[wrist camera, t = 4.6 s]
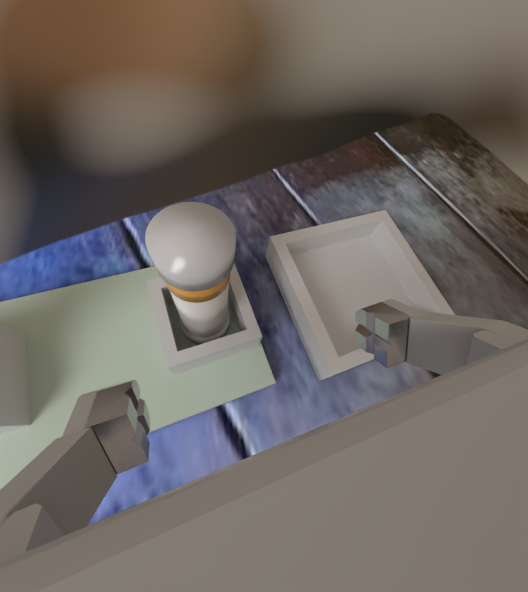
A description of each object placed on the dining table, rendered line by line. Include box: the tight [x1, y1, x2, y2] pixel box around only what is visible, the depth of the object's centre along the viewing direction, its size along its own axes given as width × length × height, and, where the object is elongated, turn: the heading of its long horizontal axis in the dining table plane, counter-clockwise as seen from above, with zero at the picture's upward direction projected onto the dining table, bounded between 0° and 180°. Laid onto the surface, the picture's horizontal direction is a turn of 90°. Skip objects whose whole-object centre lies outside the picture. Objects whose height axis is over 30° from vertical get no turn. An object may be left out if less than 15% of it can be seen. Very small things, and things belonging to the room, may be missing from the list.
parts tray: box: [265, 210, 455, 381], centre depth 24 cm, size 12×12×3 cm
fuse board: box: [0, 263, 276, 490], centre depth 18 cm, size 12×22×4 cm, turn 111°
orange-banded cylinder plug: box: [145, 202, 236, 345], centre depth 16 cm, size 4×4×11 cm
